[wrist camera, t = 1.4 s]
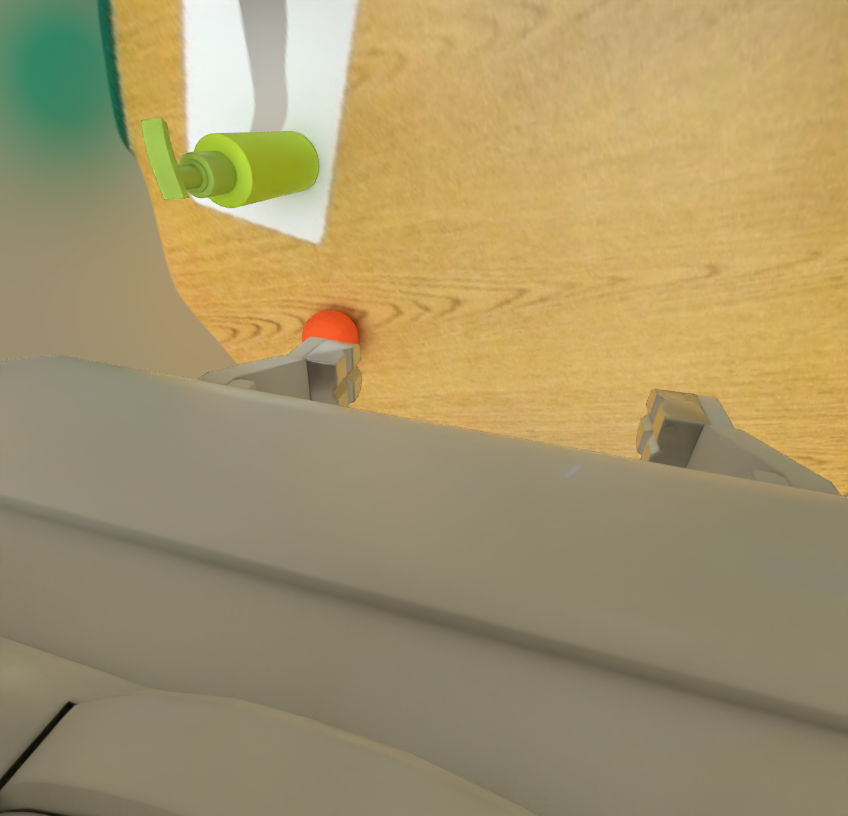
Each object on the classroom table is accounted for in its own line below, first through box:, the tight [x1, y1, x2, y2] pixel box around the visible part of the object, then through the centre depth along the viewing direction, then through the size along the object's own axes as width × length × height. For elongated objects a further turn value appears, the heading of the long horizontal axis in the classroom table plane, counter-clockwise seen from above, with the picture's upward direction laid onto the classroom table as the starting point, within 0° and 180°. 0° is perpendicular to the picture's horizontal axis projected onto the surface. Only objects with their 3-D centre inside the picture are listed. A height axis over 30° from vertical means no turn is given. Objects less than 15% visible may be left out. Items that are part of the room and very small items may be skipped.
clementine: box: [302, 310, 359, 344], centre depth 58 cm, size 8×7×7 cm
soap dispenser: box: [141, 118, 319, 208], centre depth 43 cm, size 6×7×20 cm
